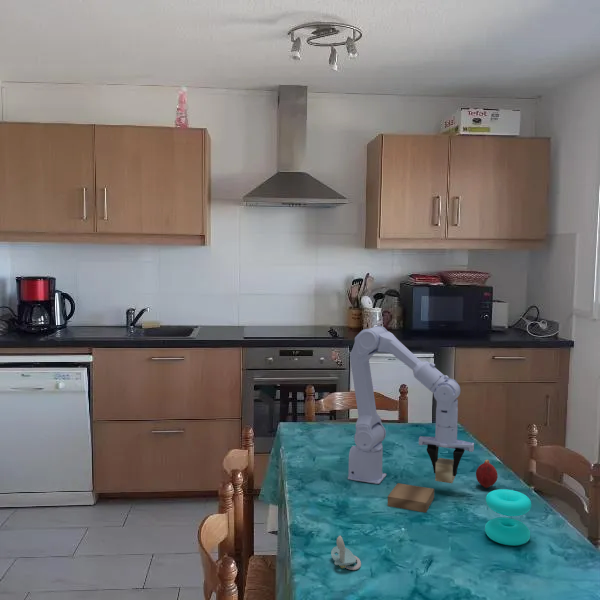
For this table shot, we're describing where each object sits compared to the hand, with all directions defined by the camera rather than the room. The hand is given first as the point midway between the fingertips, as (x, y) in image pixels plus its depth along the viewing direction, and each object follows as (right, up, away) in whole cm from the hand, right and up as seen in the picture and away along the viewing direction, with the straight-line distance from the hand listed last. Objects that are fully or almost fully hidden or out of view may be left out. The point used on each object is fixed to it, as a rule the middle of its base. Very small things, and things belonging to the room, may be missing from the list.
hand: (445, 473), depth 169 cm
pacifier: (-30, -9, -38) cm, 49 cm away
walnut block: (-10, -6, -6) cm, 13 cm away
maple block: (0, -2, 0) cm, 2 cm away
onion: (+12, -5, +4) cm, 14 cm away
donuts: (+8, -8, -26) cm, 28 cm away
